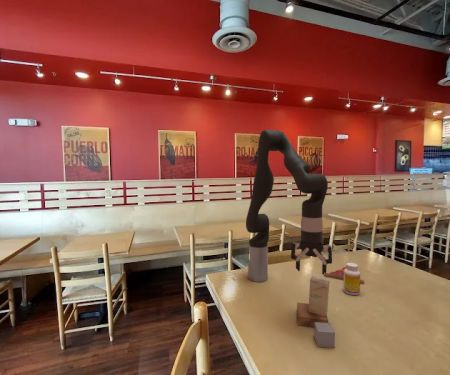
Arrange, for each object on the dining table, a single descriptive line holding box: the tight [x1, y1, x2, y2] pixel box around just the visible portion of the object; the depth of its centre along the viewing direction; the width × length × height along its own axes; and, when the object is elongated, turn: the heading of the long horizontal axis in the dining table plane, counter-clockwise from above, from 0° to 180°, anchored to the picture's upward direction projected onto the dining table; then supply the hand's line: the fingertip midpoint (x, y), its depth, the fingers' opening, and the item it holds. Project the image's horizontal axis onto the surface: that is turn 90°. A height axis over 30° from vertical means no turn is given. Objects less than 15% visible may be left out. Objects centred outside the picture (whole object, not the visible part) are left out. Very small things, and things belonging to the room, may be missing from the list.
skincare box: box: [308, 275, 330, 316], centre depth 94 cm, size 6×4×12 cm
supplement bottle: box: [343, 262, 361, 296], centre depth 115 cm, size 7×7×13 cm
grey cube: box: [313, 322, 336, 348], centre depth 83 cm, size 5×5×5 cm
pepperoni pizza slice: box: [323, 266, 365, 285], centre depth 137 cm, size 18×2×20 cm
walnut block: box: [296, 302, 329, 329], centre depth 95 cm, size 10×10×4 cm
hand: (310, 272), depth 95 cm, fingers open, 8 cm apart
